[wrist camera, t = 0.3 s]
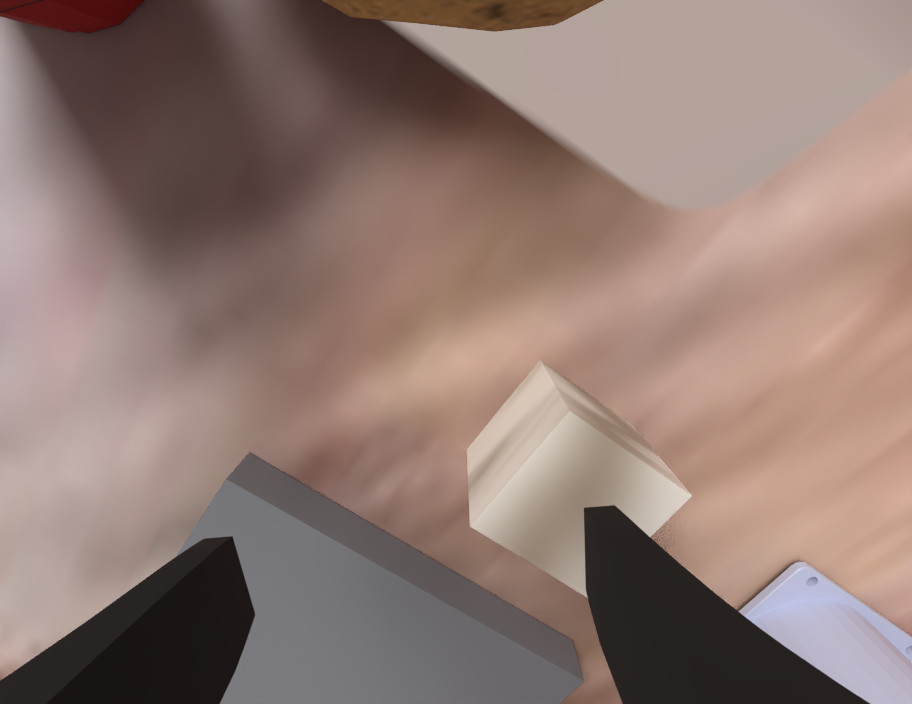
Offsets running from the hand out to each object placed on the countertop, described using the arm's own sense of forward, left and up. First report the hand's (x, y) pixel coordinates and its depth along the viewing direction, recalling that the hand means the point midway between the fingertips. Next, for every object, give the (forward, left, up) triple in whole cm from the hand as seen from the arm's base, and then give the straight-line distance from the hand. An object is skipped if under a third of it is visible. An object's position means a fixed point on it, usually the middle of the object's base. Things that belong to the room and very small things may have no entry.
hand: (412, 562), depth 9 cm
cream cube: (-5, -1, -10) cm, 11 cm away
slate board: (-4, +13, -10) cm, 17 cm away
